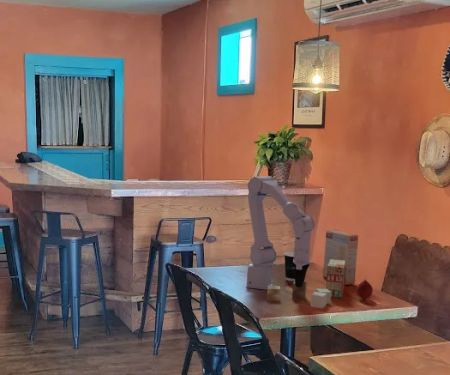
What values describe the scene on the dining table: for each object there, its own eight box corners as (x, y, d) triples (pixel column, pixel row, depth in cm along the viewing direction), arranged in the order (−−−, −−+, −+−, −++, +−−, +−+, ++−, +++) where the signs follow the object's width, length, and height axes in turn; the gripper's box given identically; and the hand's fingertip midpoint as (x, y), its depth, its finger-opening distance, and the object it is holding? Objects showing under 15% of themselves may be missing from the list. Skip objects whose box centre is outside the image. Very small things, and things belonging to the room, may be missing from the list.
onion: (372, 298, 236) (374, 278, 235) (371, 302, 230) (372, 281, 230) (357, 296, 238) (358, 276, 237) (355, 300, 232) (356, 279, 232)
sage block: (318, 304, 225) (319, 292, 225) (314, 300, 230) (315, 288, 229) (330, 304, 226) (331, 292, 226) (326, 300, 231) (327, 288, 230)
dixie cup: (297, 277, 264) (299, 252, 263) (303, 282, 256) (305, 256, 255) (279, 277, 262) (281, 252, 261) (285, 282, 254) (287, 256, 253)
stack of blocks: (329, 283, 256) (331, 254, 255) (344, 285, 255) (346, 255, 254) (325, 296, 236) (327, 265, 234) (341, 298, 234) (344, 266, 233)
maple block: (267, 300, 227) (267, 288, 226) (266, 297, 231) (267, 285, 231) (279, 301, 226) (280, 289, 226) (278, 297, 231) (279, 286, 231)
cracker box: (355, 284, 256) (359, 234, 254) (344, 285, 253) (348, 235, 251) (332, 276, 268) (336, 229, 266) (322, 277, 265) (325, 229, 263)
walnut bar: (292, 299, 230) (293, 283, 229) (293, 295, 234) (294, 280, 234) (304, 300, 229) (305, 284, 228) (305, 297, 233) (306, 281, 233)
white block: (310, 306, 222) (311, 294, 221) (314, 303, 226) (315, 291, 225) (322, 308, 220) (323, 296, 219) (326, 305, 224) (326, 293, 223)
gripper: (311, 253, 222) (308, 290, 223) (314, 246, 236) (312, 281, 237) (291, 251, 223) (289, 288, 225) (296, 244, 237) (294, 279, 239)
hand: (299, 284), depth 231 cm, fingers open, 7 cm apart
